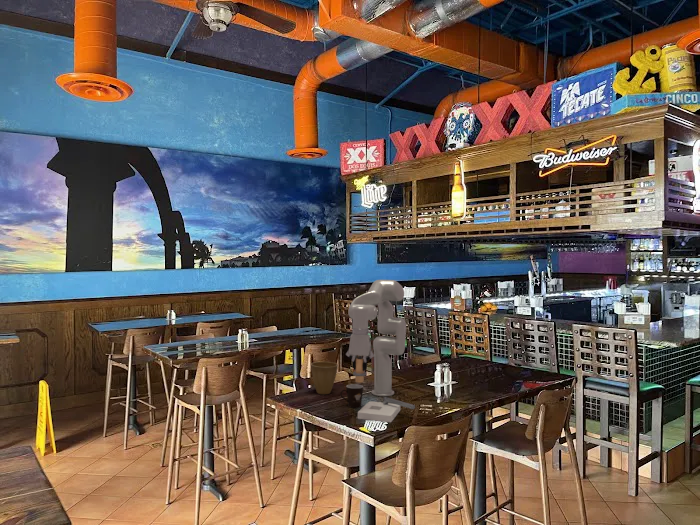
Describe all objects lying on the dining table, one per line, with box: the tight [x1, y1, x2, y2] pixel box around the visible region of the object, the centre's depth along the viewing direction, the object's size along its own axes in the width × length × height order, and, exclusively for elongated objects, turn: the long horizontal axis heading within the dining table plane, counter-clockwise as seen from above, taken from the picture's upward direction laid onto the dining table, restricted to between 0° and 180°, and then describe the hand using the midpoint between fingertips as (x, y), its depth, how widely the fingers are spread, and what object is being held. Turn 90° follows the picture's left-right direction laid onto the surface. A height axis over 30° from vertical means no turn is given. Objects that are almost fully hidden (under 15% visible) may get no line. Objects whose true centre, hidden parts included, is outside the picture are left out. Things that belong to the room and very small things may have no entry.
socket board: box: [357, 400, 401, 423], centre depth 253 cm, size 20×16×3 cm
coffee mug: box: [339, 383, 364, 409], centre depth 267 cm, size 12×9×10 cm
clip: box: [382, 396, 416, 410], centre depth 254 cm, size 19×2×3 cm, turn 42°
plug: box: [352, 356, 367, 384], centre depth 253 cm, size 6×6×12 cm
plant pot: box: [310, 361, 339, 395], centre depth 291 cm, size 15×15×16 cm
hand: (359, 369), depth 253 cm, fingers closed on plug, 4 cm apart
